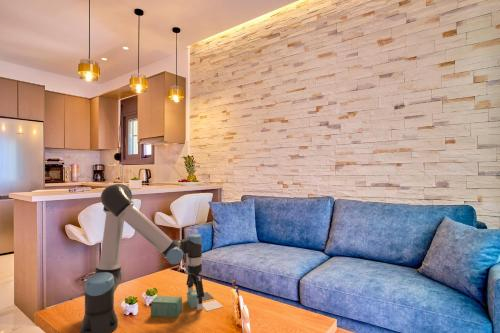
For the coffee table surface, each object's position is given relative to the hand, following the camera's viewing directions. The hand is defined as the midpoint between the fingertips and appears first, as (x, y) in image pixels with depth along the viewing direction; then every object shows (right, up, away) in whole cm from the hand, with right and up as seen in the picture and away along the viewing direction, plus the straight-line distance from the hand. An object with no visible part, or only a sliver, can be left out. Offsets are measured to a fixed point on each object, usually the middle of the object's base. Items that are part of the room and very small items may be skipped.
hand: (194, 304), depth 154 cm
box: (-12, 0, -9) cm, 16 cm away
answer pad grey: (+9, 0, -2) cm, 9 cm away
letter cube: (0, 0, 0) cm, 0 cm away
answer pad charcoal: (+3, 0, +9) cm, 9 cm away
